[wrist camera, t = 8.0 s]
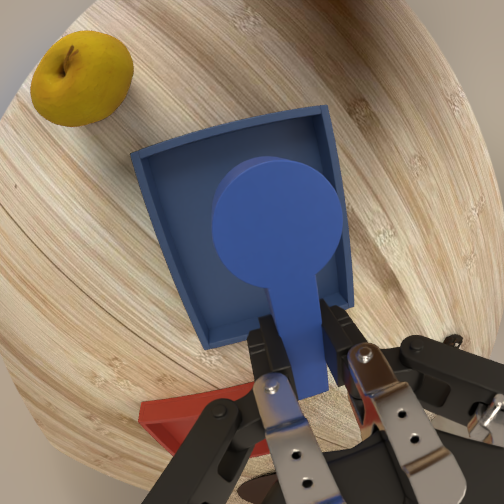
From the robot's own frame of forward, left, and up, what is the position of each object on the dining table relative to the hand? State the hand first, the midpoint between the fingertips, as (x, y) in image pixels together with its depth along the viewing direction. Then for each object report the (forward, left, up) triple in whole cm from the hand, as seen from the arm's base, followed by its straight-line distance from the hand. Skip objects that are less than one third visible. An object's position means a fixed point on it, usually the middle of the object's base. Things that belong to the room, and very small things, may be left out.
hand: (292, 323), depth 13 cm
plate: (-3, -56, -10) cm, 58 cm away
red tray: (-10, -21, -10) cm, 26 cm away
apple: (-8, +16, -10) cm, 20 cm away
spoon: (0, +2, 0) cm, 2 cm away
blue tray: (0, +2, -10) cm, 10 cm away
